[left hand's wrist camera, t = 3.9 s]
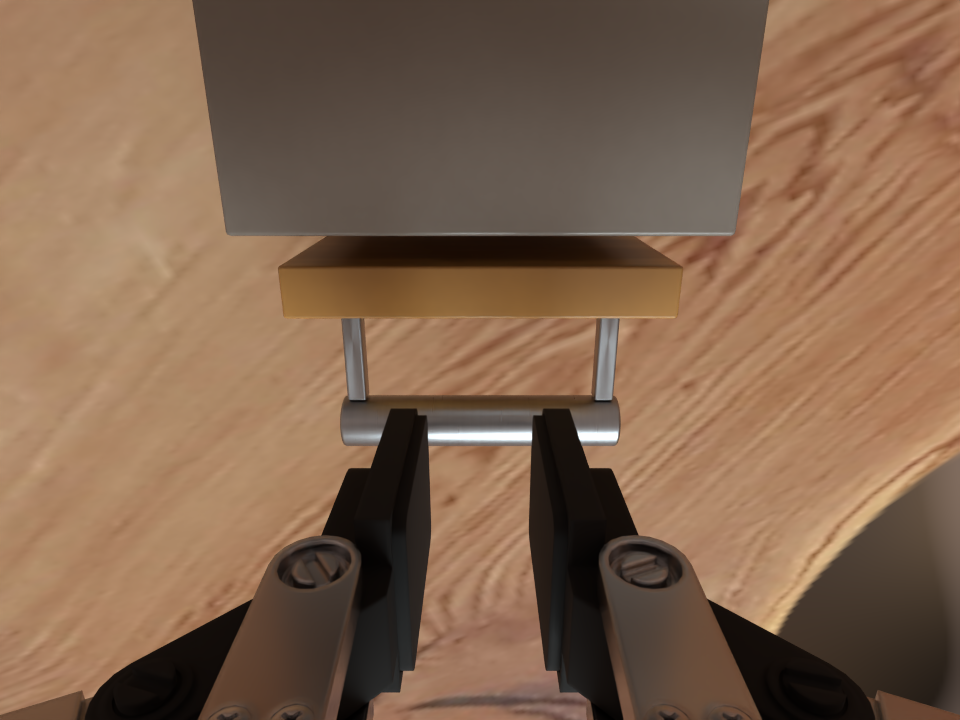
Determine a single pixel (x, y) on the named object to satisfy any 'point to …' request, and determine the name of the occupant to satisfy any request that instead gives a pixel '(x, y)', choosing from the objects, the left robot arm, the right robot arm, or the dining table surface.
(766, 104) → the dining table surface
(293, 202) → the cabinet
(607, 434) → the drawer
